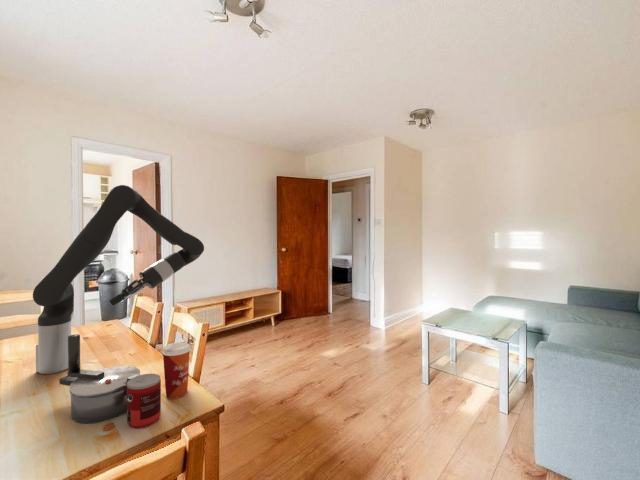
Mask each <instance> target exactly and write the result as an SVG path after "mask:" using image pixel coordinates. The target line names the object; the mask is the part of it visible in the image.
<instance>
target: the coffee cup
mask: <svg viewBox="0 0 640 480" xmlns="http://www.w3.org/2000/svg"><path fill="white" fill-rule="evenodd" d="M191 350H192V347H191V346H190V344H189V343H188V342H185V341H178V342H171V343H169V344H166V345H164V347H163V350H162V352H161V354H162V360H163V371H164V385H165V395H166V398H168V399H179V398H182V397H184V396H185V395H187V393H188V387H189V386H188V384H189V371H190V370H189V369H190V368H189V367H190V354H191V353H190V352H191Z"/></svg>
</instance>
